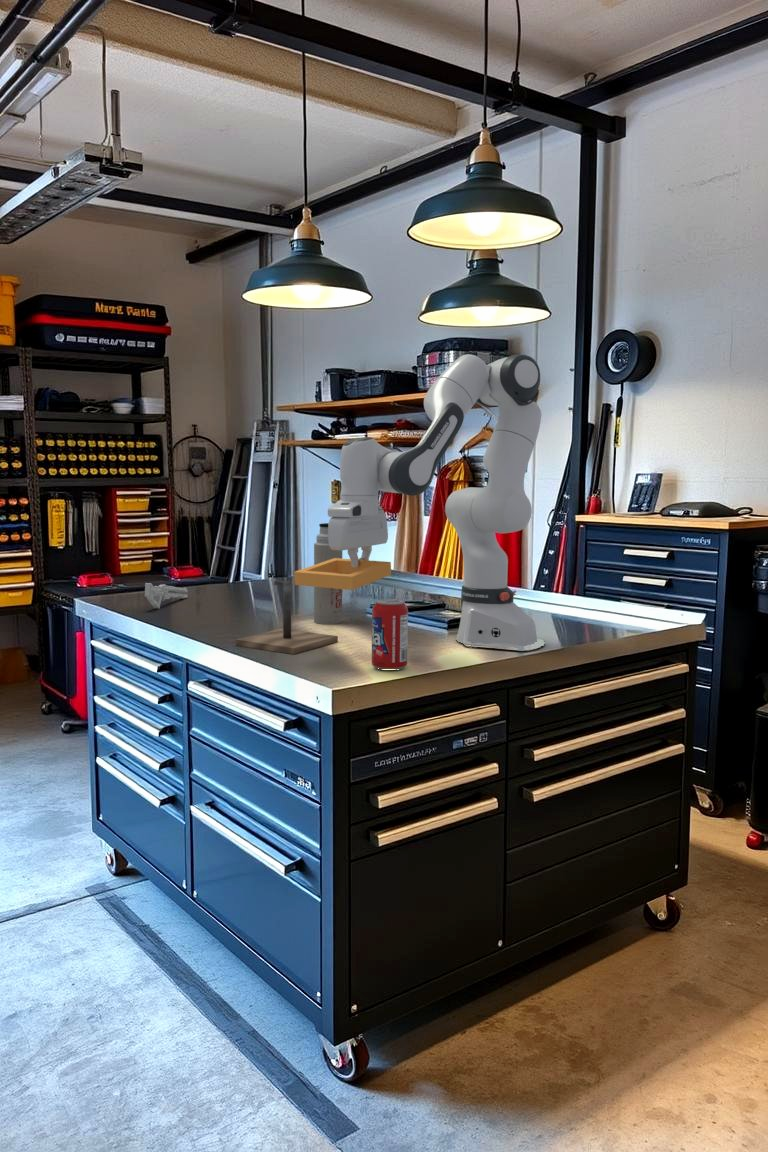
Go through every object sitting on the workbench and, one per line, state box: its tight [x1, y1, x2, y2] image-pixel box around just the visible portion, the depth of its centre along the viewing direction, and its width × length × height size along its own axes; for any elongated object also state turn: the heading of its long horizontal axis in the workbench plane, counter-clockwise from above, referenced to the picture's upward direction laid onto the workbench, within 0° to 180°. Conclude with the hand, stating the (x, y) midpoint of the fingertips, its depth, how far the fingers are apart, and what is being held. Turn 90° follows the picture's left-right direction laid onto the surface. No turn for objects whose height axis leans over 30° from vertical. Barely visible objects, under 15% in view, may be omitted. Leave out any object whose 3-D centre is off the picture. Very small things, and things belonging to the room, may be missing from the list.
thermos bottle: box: [313, 522, 343, 625], centre depth 250 cm, size 8×8×28 cm
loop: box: [293, 558, 392, 591], centre depth 204 cm, size 16×16×3 cm
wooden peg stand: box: [235, 580, 339, 655], centre depth 220 cm, size 18×18×16 cm
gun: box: [144, 582, 188, 610], centre depth 279 cm, size 2×30×8 cm, turn 170°
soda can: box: [371, 598, 409, 670], centre depth 194 cm, size 8×8×15 cm
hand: (359, 566), depth 209 cm, fingers closed on loop, 2 cm apart
